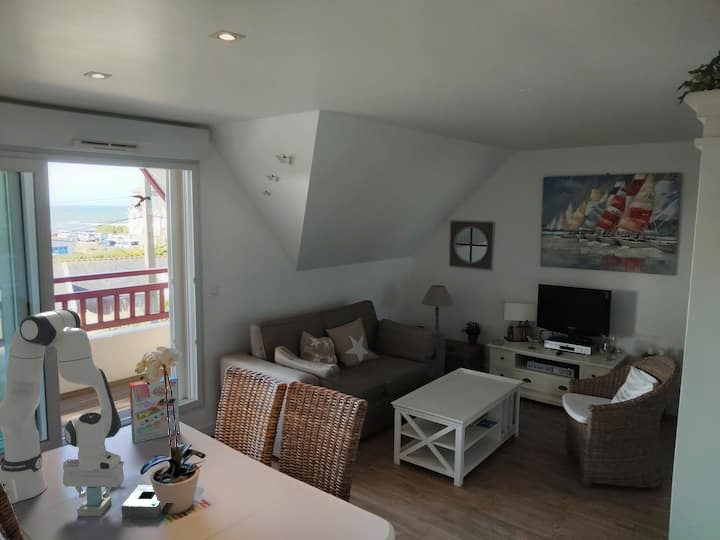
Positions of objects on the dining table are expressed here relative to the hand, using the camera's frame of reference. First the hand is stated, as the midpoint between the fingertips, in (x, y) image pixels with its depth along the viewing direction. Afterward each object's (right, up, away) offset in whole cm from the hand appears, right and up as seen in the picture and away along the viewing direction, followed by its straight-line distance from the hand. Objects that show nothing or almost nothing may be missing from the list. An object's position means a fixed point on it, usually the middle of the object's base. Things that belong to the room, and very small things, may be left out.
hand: (94, 497), depth 186 cm
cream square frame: (0, -5, 0) cm, 5 cm away
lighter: (-1, -3, +18) cm, 19 cm away
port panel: (+18, -5, +2) cm, 19 cm away
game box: (-1, +2, +60) cm, 60 cm away
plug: (0, -5, 0) cm, 5 cm away
